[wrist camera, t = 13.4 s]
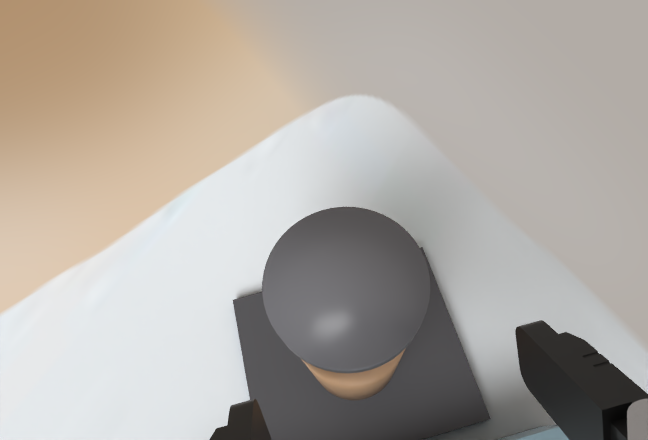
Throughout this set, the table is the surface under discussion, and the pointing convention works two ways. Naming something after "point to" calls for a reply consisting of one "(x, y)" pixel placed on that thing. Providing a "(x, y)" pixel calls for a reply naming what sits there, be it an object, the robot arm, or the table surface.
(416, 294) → the brown canister
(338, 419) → the black mat
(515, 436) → the parts tub
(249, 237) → the table surface
